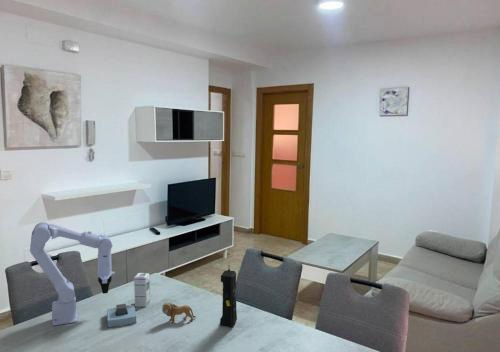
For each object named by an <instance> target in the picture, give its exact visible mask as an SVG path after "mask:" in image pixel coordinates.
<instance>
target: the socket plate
mask: <svg viewBox="0 0 500 352" xmlns="http://www.w3.org/2000/svg"><path fill="white" fill-rule="evenodd" d="M135 307H136V306H135V304H134V305H126V315H120V316H116V307H113V308H107V309H106V311H107V328H113V327H122V326H126V325H131V324H132V325H133V324H137V314H136V313H137V312H136V308H135Z"/></svg>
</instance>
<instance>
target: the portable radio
mask: <svg viewBox="0 0 500 352" xmlns="http://www.w3.org/2000/svg"><path fill="white" fill-rule="evenodd" d="M228 267H230V265H229V264H228ZM220 282H221V283H222V311H221V312H222V313H221V314H222V315H221V317H220V318H219V323H220V324H219V326H220V327H225V328H233V327H235V324H236V322H237V320H238V317H237V316H238V315H237V311H238V310H237V297H236V290H237V272H236V271H235V270H231V269H230V268H228V270H226V269H225V270H224V271H223V272H222V274H220Z"/></svg>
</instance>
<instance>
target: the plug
mask: <svg viewBox="0 0 500 352" xmlns="http://www.w3.org/2000/svg"><path fill="white" fill-rule="evenodd" d="M126 306H127V304H126V303H121V304H116V306H115V308H116V316H120V315H126Z"/></svg>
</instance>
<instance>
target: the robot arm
mask: <svg viewBox="0 0 500 352" xmlns="http://www.w3.org/2000/svg"><path fill="white" fill-rule="evenodd" d="M57 238H65V239H69V240H74V241H78V242H79V244H80V245H81V246H85V247H89V248H93V249H97V251H98V252H97V277H98V278H97V281H98V283H99V284H100V288H101V291H102V294H103V295H104V294H108V293H109V289H110V284H111V282H112V279H113V278H112V276H113V275H115V271H112V268H113V267H112V265H113V264H112V249H113V244H112V241H111V239H110V237H109V236H106V235H104V234H103V235H102V234H96V233H92V231H90V230H88V231H84V232H77V231H75V230H72V229H69V228H66V227H63V226H59V225H57V224H53V223H47V222H43V221H42V222H39V223H36V224H35V226H34V228H33V230H32V232H31V237H30V245H29V246H30V247H29V252H30V254H31V255H32V257H33V259H35V261H36V262H37V264H38V265H39V267H40V268H41V269H42V271H43V272H44V275H46V277H47V278H48V279H49V281H50V282H51V284H52V285H53V287H54V289H55V291H56V293H57V296H58V298H57V300H55V301H54V300H53V301H52V304H51V314H52V315H51V319H52V321H51V322H52V326H58V325H59V326H60V325H64V324H72V323H77V322H78V316H79V314H78V312H77V298H76V292H75V285H74V284H73V282H71V281H69V280H68V279H67V278H66V277H65V276H64V275H63V273H62V272H61V271H60V270H59V268H58V266H57V265H56V264H55V262H54V261H53V259H52V258H51V256H50V255H49V253H48V252H47V251H46V249H45V246H46V243H47V242H49V240H50V239H51V240H54V239H57Z"/></svg>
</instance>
